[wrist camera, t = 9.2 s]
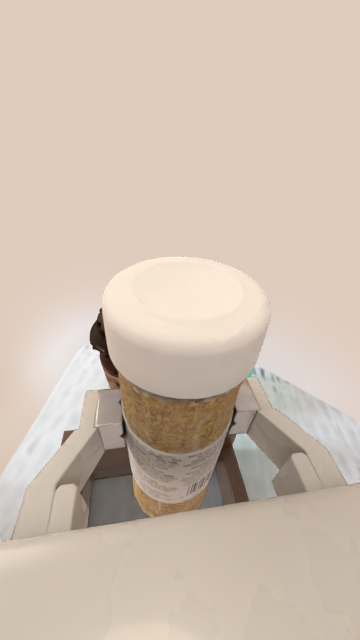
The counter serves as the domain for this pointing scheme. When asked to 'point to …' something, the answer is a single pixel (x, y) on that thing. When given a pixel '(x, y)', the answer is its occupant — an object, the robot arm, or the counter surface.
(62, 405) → the counter surface
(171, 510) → the sprinkles bottle
